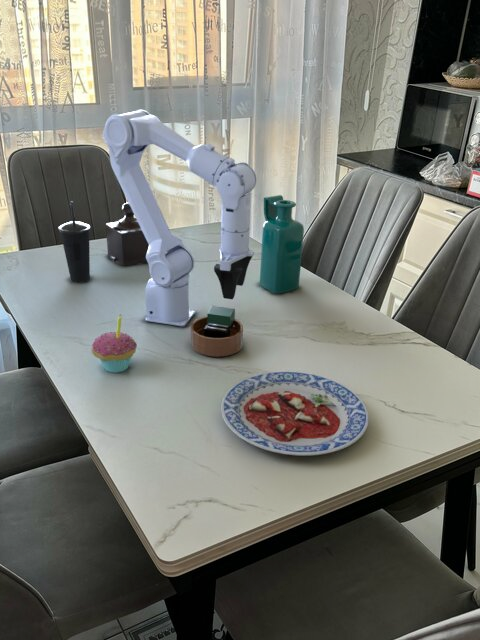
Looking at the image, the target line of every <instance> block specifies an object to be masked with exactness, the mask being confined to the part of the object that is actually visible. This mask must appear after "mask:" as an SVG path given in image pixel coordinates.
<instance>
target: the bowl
mask: <svg viewBox="0 0 480 640" xmlns="http://www.w3.org/2000/svg"><path fill="white" fill-rule="evenodd" d="M206 326H207V316H202V317H200V318H197V319H195V320H194V321H193V322H192V323H191V324H190V347H191V348H192V349H193V351H195V352H197V353H199V354H200V355H204V356H207V357H214V358H216V357H218V358H219V357H227V356H231V355H234V354H236V353H238V352H240V350H241V349H242V347H243V344H244V325H243V324H242V322H241V321H239V320H237V319H236V318H235V319H234V321H233V323H232V324H231V326H230V337H226V338H210V337H205V336H204V328H205V327H206Z"/></svg>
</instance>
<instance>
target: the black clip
mask: <svg viewBox="0 0 480 640" xmlns="http://www.w3.org/2000/svg"><path fill="white" fill-rule="evenodd" d="M204 336H205V337H210V338H226V337H230V327H228V326H226V325H219V324H212V323H208V324H207V326H206V327H205V328H204Z"/></svg>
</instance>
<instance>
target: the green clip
mask: <svg viewBox="0 0 480 640" xmlns="http://www.w3.org/2000/svg"><path fill="white" fill-rule="evenodd" d="M206 317H207V324H208V323H212V324H219V325H226V326H228V327H230V326H231V324H232V323H233V321H234V319H236V318H235V317H236V309H235V308H232V307H225V306H219V305H217V306H216V305H212V306H211V307H210V309H209V310H208V311H207V313H206Z"/></svg>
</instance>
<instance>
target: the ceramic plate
mask: <svg viewBox="0 0 480 640" xmlns="http://www.w3.org/2000/svg"><path fill="white" fill-rule="evenodd" d="M220 410H221V416H222V418H223V422H224V423H225V424H226V426H227V427H228V428H229V429H230V431H232V433H234V435H236V436H237V437H239V439H241V440H243V441H245V442H247V443H249V444H250V445H252V446H255V447H257V448H260V449H262V450H265V451H268V452H271V453H276V454H282V455H288V456H289V455H290V456H299V457H300V456H304V457H305V456H321V455H327V454H330V453H334V452H338V451H341V450H343V449H345V448H348V447H349V446H352V445H353V444H354V443H356V442H357V441H359V440H360V438H361V437H362V436H364V434H365V432H366V430H367V428H368V425H369V422H370V421H369V419H370V418H369V412H368V409H367V407H366V405H365V403H364V401H363V400H362V399H361V398H360V397H359V396H358V395H357V394H356V393H355V392H354V391H353V390H351V389H350V388H348V387H347V386H345V385H343V384H341V383H339V382H337V381H335V380H333V379H330V378H327V377H324V376H320V375H317V374H313V373H307V372H299V371H270V372H266V373H260V374H255V375H253V376H249V377H247V378H245V379H242V380H240V381H239V382H237V383H236V384H234V385H232V386H231V387H230V388H229V389H228V390H227V392H225V394H224V396H223V398H222V401H221V405H220Z"/></svg>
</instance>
